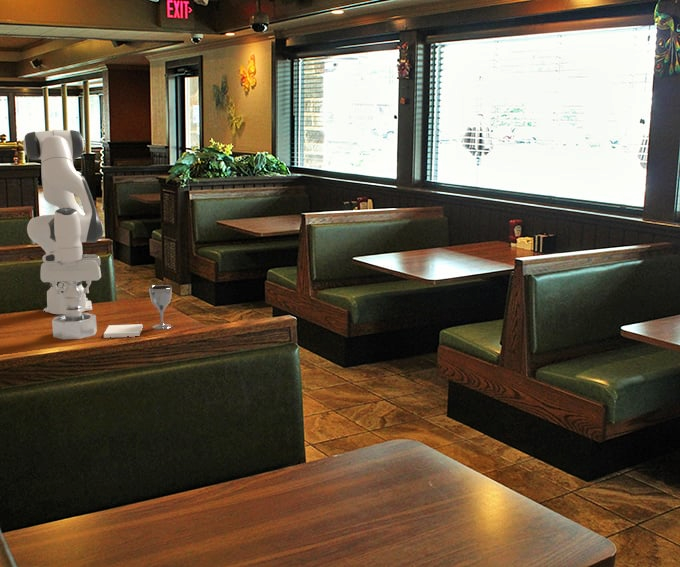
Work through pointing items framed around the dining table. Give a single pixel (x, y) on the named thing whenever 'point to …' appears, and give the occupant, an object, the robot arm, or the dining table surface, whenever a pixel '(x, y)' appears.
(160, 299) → the wine glass
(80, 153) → the robot arm
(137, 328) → the ceramic pad
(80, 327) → the steel collar
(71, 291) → the plastic bottle
